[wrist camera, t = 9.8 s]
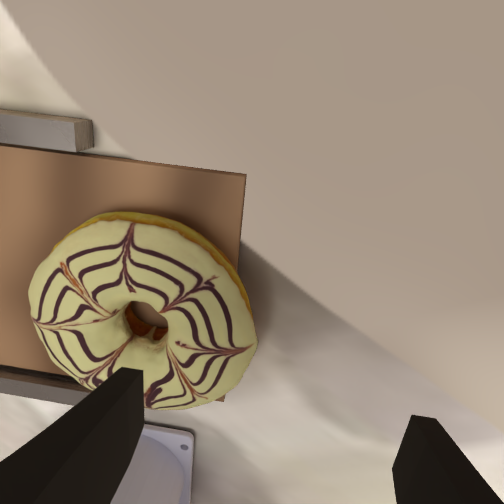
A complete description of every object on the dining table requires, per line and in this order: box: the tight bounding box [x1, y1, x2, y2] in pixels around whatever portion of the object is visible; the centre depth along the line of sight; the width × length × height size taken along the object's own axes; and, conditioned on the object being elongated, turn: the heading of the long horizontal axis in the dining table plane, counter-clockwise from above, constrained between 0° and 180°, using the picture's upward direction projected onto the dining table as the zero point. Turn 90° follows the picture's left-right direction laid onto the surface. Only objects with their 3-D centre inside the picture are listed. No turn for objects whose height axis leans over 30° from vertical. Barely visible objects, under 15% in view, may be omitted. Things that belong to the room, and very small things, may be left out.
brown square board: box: [0, 143, 246, 402], centre depth 18 cm, size 18×13×5 cm
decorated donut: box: [28, 211, 258, 410], centre depth 19 cm, size 10×11×4 cm
